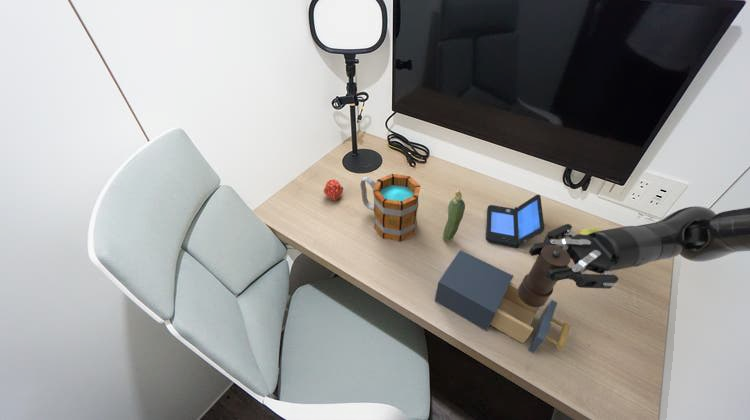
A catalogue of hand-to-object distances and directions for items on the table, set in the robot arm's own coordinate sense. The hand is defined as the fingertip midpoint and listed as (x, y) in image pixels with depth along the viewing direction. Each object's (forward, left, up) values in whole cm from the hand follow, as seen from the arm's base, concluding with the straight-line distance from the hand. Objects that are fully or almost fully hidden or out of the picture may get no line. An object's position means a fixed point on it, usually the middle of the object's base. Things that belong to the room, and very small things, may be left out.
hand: (539, 262), depth 57 cm
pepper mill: (-1, -3, -12) cm, 12 cm away
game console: (+23, -23, -25) cm, 41 cm away
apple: (+6, -36, -25) cm, 44 cm away
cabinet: (+9, +3, -24) cm, 26 cm away
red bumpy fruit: (+61, +20, -25) cm, 69 cm away
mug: (+42, +9, -25) cm, 50 cm away
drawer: (-2, -3, -23) cm, 24 cm away
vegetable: (+27, -4, -25) cm, 37 cm away
